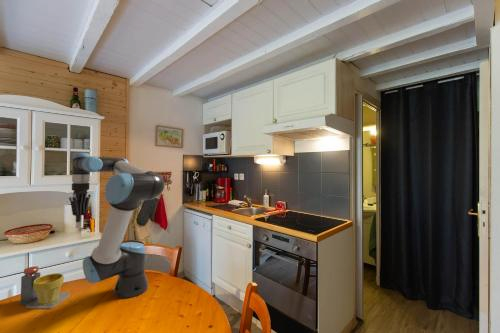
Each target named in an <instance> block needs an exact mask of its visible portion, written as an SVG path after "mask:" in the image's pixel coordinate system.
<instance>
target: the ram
mask: <svg viewBox="0 0 500 333" xmlns="http://www.w3.org/2000/svg"><path fill="white" fill-rule="evenodd" d="M36 272H39V266H37V265H35V266H29V267H26V268H24V269H23V275H27V274H28V275H27V276H33V275H35V273H36Z"/></svg>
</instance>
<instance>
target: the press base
mask: <svg viewBox="0 0 500 333" xmlns="http://www.w3.org/2000/svg"><path fill="white" fill-rule="evenodd" d="M27 275H28V274H27ZM27 275H26V274H23V276H21V277H20V301H19V302H18V304H19V305H25V309H35V310H36V309H37V310H38V309H40V310H41V309H42V310H43V309H45V310H47V309H49V310H52V309H54V307H57V306H58V305H59V304H61V303H62V302H63V301H64V300H66V299H68V298H69V297H70V296H71V292H59V295H58V298H57V299H56V300H54V301H52V302H50V303H45V304H40V303H39V301H38V298H37V294H36V291H35V290H34V289H33V282H34V280H36V279H37V278H39V277H41V272H40V271H38V272H36V273H35V275H33V276H27Z"/></svg>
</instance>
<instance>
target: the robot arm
mask: <svg viewBox="0 0 500 333" xmlns="http://www.w3.org/2000/svg"><path fill="white" fill-rule="evenodd" d="M71 161H72V164H71V165H72V166H71V182H72V183H71V191H73V192H72V196H70V197H69V198H68V199H69V201H70V206H71V207H70V208H71V214H72V215H73V216H75V229H83V228H84V221H85V220H84V218H85V217H84V216H85V215H87V212H88V209H89V208H88V207H89V202H90V198H91V194H88V191H89V190H90V181H91V180H90V176H91V175H90V173H101V172H102V173H103V172H104V173H107V172H108V173H112V172H113V173H115V174H113V175H112V176H110V177H109V178H108V180H107V182H106V185H105V188H104V190H105V192H104V196H105V199H106V201H107V202H108V204H109V206H110V208H109V211H108V214H107V218H106V221H105V224H104V227H103V230H102V234H101V237H100V240H99V242H98V246H95V247H94V248H93V250H92V251H91V255H90V256H88V255H87V256H86V257H84V258H83V260H82V271H83V274H84V278H85V279H86V281H87V282H88V283H89V284H95V283H100V282H102V281H105V280H107V279H110V278H114V277H115V276H116V277H117V276H118V277H117V280H116V283H115V285H114V289H113V294H114V296H115V297H117V298H121V299H123V298H124V299H125V298H133V297H136V296H137V297H138V296H139V295H141V294H143V293H145V292H146V291H147V290H148V288H149V282H148V279H147V275H146V273H145V270H146V268H145V267H146V266H145V265H146V264H145V263H146V246H145V244H144V243H141V242H136V241H135V242H134V241H131V242H123V240H124V238H125V236H126V235H125V234H126V232H127V229H128V227H129V223H130V221H131V218H132V216H133V212H134V211H136V210H137V209H139V207H140V205H141V202H142V201H149V200H151V201H152V200H154V199H156V198H158V197H159V196H160V195H161V194H162V193H163V191H164V189H165V180H164V178H163V176H161V175H160V174H159V173H157V172H154V171H151V170H150V171H149V170H145V169H143V168H140V167H138V166H136V165H133V164H131V163H130V162H129V160H128V159H127V158H123V157H103V156H102V157H100V156H91V154H90V153H88V152H87V153H86V152H74V153H73V154H72V159H71Z"/></svg>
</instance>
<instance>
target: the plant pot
mask: <svg viewBox="0 0 500 333" xmlns="http://www.w3.org/2000/svg"><path fill="white" fill-rule="evenodd" d="M64 276H65V275H64V274H63V273H49V274H46V275H42V276H41V275H40V277H39V278H37V279H36V280H34V282H33V289H34V290H35V291H36V294H37V298H38V301H39V303H40V304H45V303H50V302H52V301H54V300H56V299H57V298H58V295H59V293H60V291H61V286H62V285H63V283H64Z"/></svg>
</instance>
